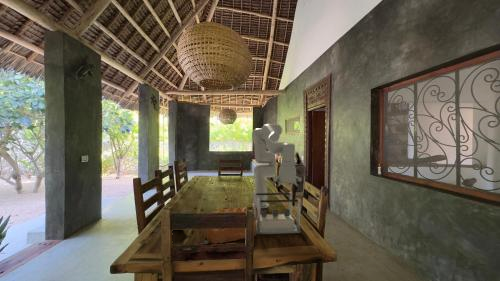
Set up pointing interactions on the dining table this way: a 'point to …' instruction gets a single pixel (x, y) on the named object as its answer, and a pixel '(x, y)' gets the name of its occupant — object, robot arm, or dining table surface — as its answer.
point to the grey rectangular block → (263, 213)
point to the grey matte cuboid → (286, 212)
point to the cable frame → (296, 228)
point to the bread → (227, 229)
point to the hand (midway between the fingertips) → (287, 192)
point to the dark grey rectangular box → (275, 213)
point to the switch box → (276, 222)
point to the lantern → (199, 235)
